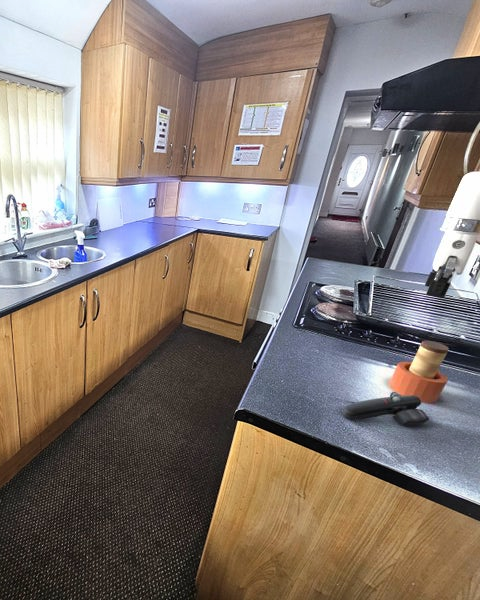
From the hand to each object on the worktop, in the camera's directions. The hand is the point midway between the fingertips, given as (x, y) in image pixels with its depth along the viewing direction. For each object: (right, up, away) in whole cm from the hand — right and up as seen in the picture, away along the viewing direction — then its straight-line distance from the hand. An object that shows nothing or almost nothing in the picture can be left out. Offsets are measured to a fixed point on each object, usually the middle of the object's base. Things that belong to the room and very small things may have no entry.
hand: (433, 291), depth 86 cm
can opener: (-23, -30, -9) cm, 39 cm away
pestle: (-7, -26, -1) cm, 27 cm away
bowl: (-7, -27, -1) cm, 28 cm away
